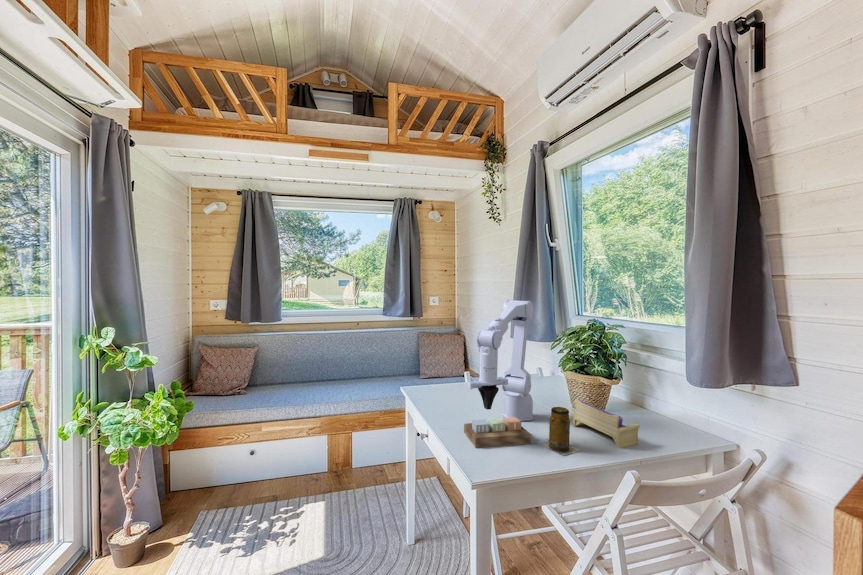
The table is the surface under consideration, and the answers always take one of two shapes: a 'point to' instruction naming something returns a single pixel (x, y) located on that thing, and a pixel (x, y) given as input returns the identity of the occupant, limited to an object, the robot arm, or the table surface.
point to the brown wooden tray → (497, 437)
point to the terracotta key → (512, 424)
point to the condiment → (560, 431)
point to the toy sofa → (605, 423)
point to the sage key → (496, 425)
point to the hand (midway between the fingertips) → (487, 408)
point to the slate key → (480, 426)
